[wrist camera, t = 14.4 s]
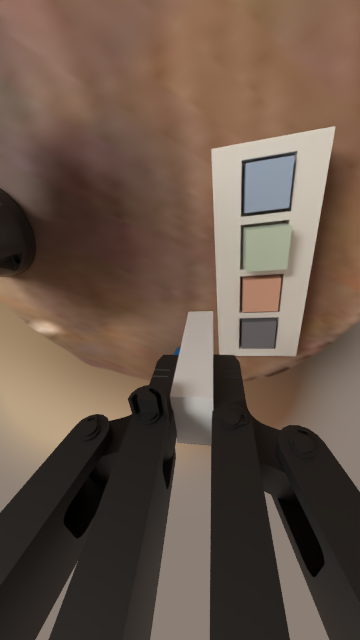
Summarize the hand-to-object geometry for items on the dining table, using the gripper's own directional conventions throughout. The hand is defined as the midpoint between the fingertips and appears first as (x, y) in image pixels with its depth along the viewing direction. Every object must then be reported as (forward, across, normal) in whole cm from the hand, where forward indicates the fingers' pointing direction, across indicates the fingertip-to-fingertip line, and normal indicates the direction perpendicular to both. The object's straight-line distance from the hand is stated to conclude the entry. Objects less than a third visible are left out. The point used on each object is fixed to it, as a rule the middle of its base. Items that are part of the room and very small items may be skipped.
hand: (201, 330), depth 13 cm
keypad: (+23, +7, -2) cm, 24 cm away
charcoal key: (+20, +7, -12) cm, 24 cm away
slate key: (+20, +7, +8) cm, 23 cm away
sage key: (+18, +7, +2) cm, 19 cm away
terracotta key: (+20, +7, -5) cm, 22 cm away
